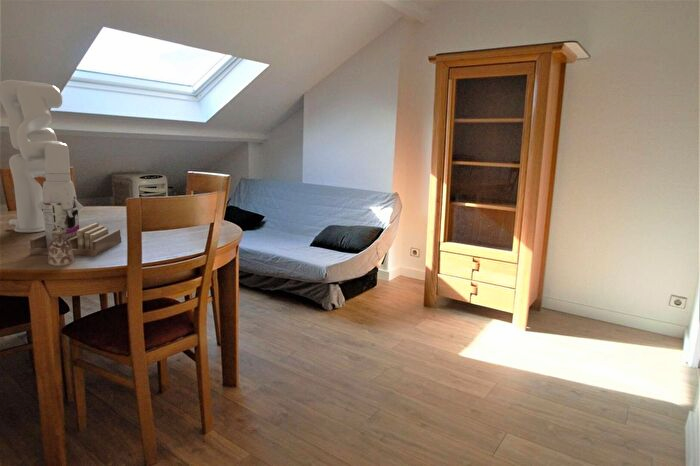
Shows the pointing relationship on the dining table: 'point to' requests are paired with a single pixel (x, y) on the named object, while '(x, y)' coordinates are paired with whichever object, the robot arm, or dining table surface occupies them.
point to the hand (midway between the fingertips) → (62, 226)
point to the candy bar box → (57, 221)
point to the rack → (98, 245)
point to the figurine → (60, 248)
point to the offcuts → (90, 235)
